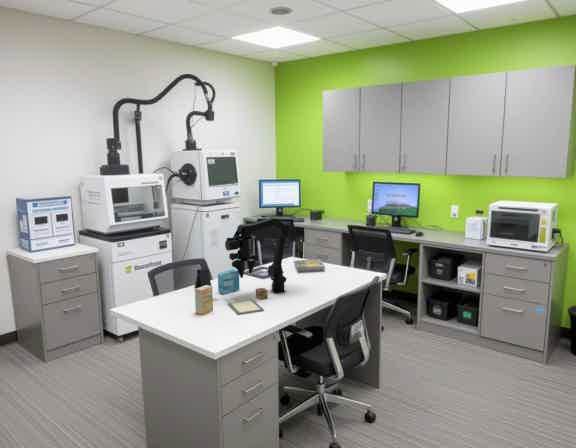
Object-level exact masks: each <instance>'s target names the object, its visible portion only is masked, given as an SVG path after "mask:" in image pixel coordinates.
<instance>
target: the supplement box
mask: <svg viewBox="0 0 576 448" xmlns="http://www.w3.org/2000/svg"><path fill="white" fill-rule="evenodd" d="M213 297H214V296H213V286H212V285H211V286H209V285H205V286H202V287H199V288H194V300H195V301H194V304H195V305H194V307H195V315H200V316H204V315H206V314H208V313H210V312H213V311H214V300H213V299H214V298H213Z"/></svg>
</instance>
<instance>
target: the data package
mask: <svg viewBox="0 0 576 448" xmlns="http://www.w3.org/2000/svg"><path fill="white" fill-rule="evenodd" d="M217 290H218V293H220V294H223V295H227V294H231V293H234V292H238V291H239V290H240V275H239V272H238V270H237V269H229V270H228V269H227V270H225V271H220V272H218V273H217Z"/></svg>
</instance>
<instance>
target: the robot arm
mask: <svg viewBox="0 0 576 448" xmlns="http://www.w3.org/2000/svg"><path fill="white" fill-rule="evenodd" d="M269 227H273V229H275V235H276V243H275V249H274V255H273V262H272V264H271V265H268V269H267V275H268V277H269V278H270V280H271V282H272V283H271V292H273V293H274V294H279V293H280V294H282V293H286V290H285V283H286V282H287V277H286V276H284V272H283V267H282V266H283V265H282V263H283V258H284V251H285V246H286V245H285V244H286V240H287V239H288V237H290V233H291V226H290V225H289V224H286V223H284V222H282V221H280V220H279V219H277V218H275V217H269V218H266V219H263V220H259V221H257V222H253V223H243V224H239V225H238V226H237V228H236V230H235V232H234V234H233V237H226V240H225V242H224V247H225V250H226V251H233V250H234V251H235V250H237V252H235V253H234V252H231V253H229V255H228V256H229V260H231V261H232V262H231V267H233V268H235V270H236V271H238V272H239V278H240V279H243V278H244V275H245V274H244V273H245V269H246V263H247V268H248V273H249V274H252V272H253V270H254V268H255V265H256V263H257V261H258V260H259V255H257V254H256V253H251V252H252V250H253V249H252V248H251V246H250V245H251V243H250V240H253V239H254V237H253V236H252V234H254V233H255V232H257V231H259V230H262V229H266V228H269Z"/></svg>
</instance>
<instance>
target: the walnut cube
mask: <svg viewBox="0 0 576 448" xmlns="http://www.w3.org/2000/svg"><path fill="white" fill-rule="evenodd" d="M255 298H256V299H257V300H258V301H261V300H267V299H268V289H266V288H265V287H259V288H255Z"/></svg>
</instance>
